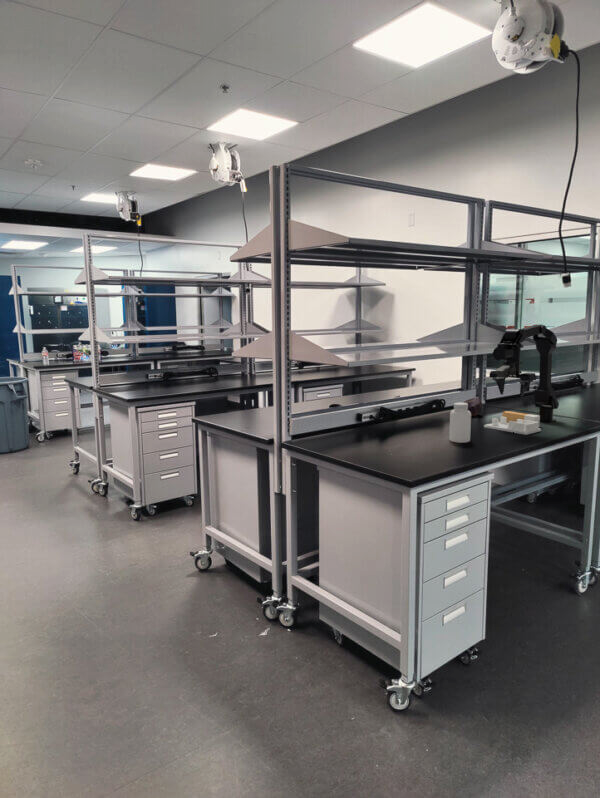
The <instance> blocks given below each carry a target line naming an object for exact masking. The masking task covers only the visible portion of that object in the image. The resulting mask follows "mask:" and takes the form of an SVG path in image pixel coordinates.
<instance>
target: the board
mask: <svg viewBox="0 0 600 798" xmlns="http://www.w3.org/2000/svg"><path fill="white" fill-rule="evenodd" d="M538 426H539V427H538ZM483 427H484V428H485V429H492V430H497V431H502V432H509V433H513V432H514V433H515V434H520V435H525V436H526V435H530V434H531V435H532V434H535V433H538V432H541V431H542V428H540V422H535V421H529V420H524V423H523V420H521V419H517V422H514V421H509V423H507V417H502V416H500V417H499V418H496V417H494V418H491V423H486V424H484V425H483Z"/></svg>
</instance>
